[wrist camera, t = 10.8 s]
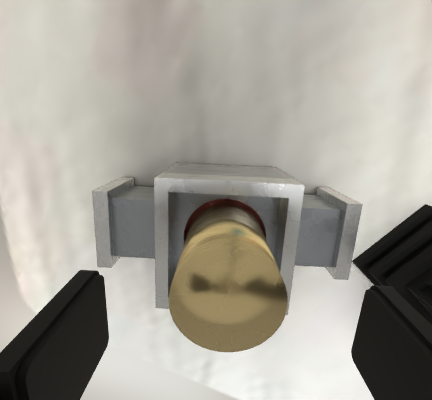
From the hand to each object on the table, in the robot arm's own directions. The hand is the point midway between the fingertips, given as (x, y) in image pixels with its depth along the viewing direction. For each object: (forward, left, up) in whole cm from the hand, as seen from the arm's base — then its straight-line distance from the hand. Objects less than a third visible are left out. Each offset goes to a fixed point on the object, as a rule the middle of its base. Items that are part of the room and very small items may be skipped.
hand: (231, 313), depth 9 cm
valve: (+1, 0, -15) cm, 15 cm away
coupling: (+1, 0, -9) cm, 9 cm away
